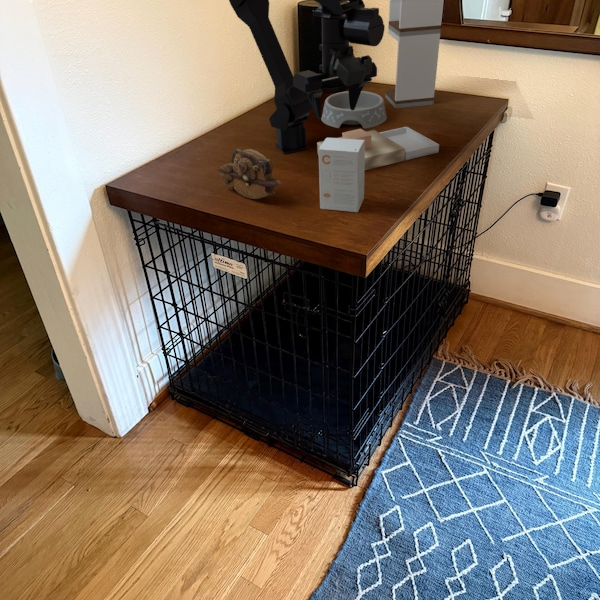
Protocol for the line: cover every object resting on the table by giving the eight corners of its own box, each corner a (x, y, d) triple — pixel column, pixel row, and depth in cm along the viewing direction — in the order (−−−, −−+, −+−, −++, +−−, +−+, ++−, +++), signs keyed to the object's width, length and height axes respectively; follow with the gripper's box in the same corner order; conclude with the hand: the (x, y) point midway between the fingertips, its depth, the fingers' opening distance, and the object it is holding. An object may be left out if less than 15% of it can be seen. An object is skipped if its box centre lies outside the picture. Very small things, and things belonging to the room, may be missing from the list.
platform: (344, 175, 128) (344, 162, 126) (317, 154, 138) (317, 142, 136) (404, 160, 133) (405, 148, 131) (373, 141, 143) (374, 129, 141)
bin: (405, 160, 133) (405, 152, 132) (374, 141, 143) (375, 133, 142) (438, 152, 136) (439, 144, 134) (406, 134, 146) (406, 126, 145)
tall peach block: (352, 151, 131) (352, 139, 129) (342, 144, 134) (342, 132, 132) (371, 147, 132) (371, 135, 130) (360, 140, 136) (360, 128, 134)
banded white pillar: (421, 93, 172) (432, -40, 150) (433, 104, 163) (447, -35, 142) (385, 97, 170) (391, -37, 149) (395, 108, 162) (403, -32, 141)
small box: (364, 199, 118) (366, 139, 110) (357, 213, 113) (359, 151, 105) (326, 195, 120) (326, 136, 112) (319, 209, 115) (317, 148, 108)
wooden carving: (215, 191, 124) (208, 148, 118) (228, 183, 127) (222, 141, 121) (274, 209, 116) (271, 164, 110) (287, 200, 119) (284, 156, 113)
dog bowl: (385, 130, 150) (386, 110, 146) (317, 129, 152) (317, 109, 149) (387, 108, 163) (388, 89, 160) (325, 108, 166) (324, 89, 162)
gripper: (318, 55, 109) (320, 133, 118) (394, 40, 116) (390, 115, 126) (290, 44, 117) (293, 119, 126) (362, 31, 124) (361, 102, 133)
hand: (335, 114), depth 128 cm, fingers open, 9 cm apart
